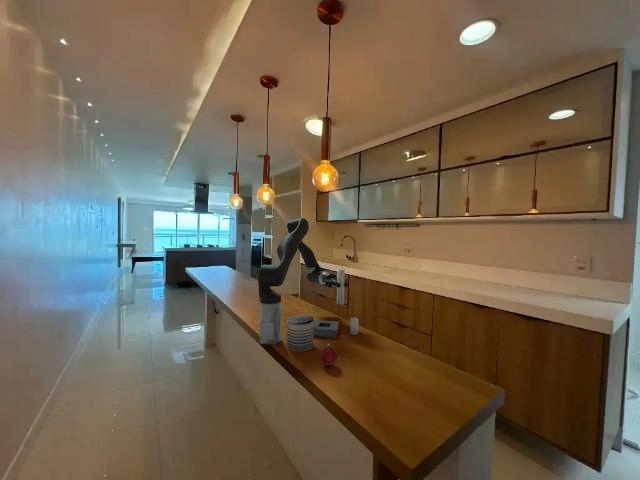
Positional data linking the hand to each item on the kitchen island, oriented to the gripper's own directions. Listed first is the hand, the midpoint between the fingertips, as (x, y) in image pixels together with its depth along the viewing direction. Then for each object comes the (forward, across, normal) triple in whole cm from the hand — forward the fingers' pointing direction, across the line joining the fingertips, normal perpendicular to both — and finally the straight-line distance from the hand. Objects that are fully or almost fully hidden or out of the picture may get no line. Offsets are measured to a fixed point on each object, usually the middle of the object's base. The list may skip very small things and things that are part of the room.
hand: (343, 285), depth 135 cm
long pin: (-3, 0, +10) cm, 10 cm away
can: (+9, -26, +22) cm, 35 cm away
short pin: (+7, +2, +22) cm, 23 cm away
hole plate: (0, -10, +22) cm, 24 cm away
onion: (+30, -23, +22) cm, 43 cm away
